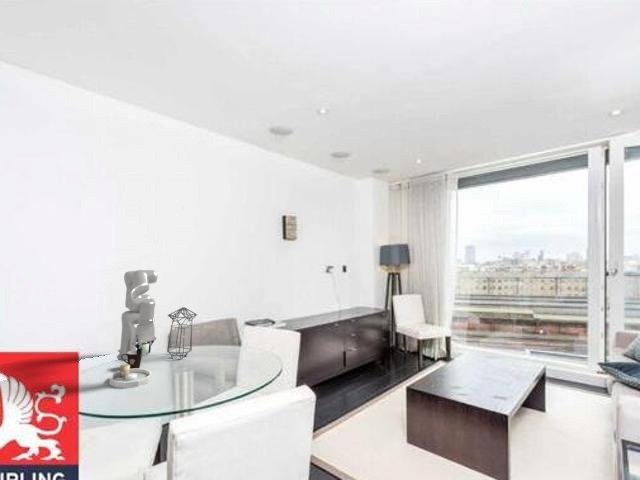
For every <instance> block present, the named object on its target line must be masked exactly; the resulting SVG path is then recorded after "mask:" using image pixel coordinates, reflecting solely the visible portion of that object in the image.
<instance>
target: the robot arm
mask: <svg viewBox="0 0 640 480" xmlns="http://www.w3.org/2000/svg"><path fill="white" fill-rule="evenodd" d="M123 280H124V284H125V288H126V291H125V302H124V303H125V304H124V305H125V307H126V308H127V309H128V310H125V311H124V312H123V313H122V314H121V336H120V345H119V347H120V348H119V349H118V350H117V352H118V354H117V355H116V359H117V360H122V358H123V359H124V360H125V361H128V357H127V355H123V354H127V353H128V352H129V351H133V350H137V355H139V356H141V353H142V348H141V346H142V343H149V353H148V354H150V353H151V350H152V349H151V348H152V346H153V344H154V342H155V341H156V340H157V337H156V336H155V335H156V334H155V331H156V330H155V324H154V321H156V318H155V307H156V300H155V299H154V298H152V297H151V295H150V294H146V293H147V292H148V291H149V290H150V285H152V284H155V283H156V282H157V280H158V273H157V271H156V270H153V269H137V270H130V271H129V270H128V271H126V272H125V273H124V276H123ZM135 325H136V326H135ZM122 355H123V356H122ZM121 356H122V358H121ZM122 361H123V360H122Z"/></svg>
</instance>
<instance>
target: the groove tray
mask: <svg viewBox="0 0 640 480" xmlns="http://www.w3.org/2000/svg"><path fill="white" fill-rule="evenodd" d="M119 375H120V370H118V371H115V372H113V373H112V374H110V375H109V381H108V383H109V384H108V385H109V386H111V387H113V386H114V387H113V388H116V387H117V388H118V389H120V388H121V389H128V388H135V387H140V386H144V385H145V384H146V385H147V384H149V383H150V381H152V378H153V377H152V376H153V373H152V370H149V369H146V368H141V367H140V368H133V369H130V372H129V374H126V375H125V378H121V377H119Z"/></svg>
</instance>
